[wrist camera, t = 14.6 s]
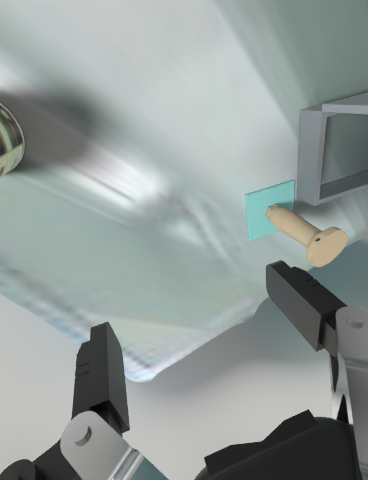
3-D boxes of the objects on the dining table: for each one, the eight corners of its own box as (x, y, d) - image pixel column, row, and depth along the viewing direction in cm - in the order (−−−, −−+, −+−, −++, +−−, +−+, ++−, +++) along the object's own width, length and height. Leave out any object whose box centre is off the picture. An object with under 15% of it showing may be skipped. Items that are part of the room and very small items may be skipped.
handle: (253, 217, 50) (305, 258, 38) (276, 191, 49) (338, 224, 36) (267, 229, 53) (320, 271, 40) (289, 205, 51) (352, 240, 39)
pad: (245, 194, 48) (246, 195, 48) (292, 179, 50) (294, 180, 49) (248, 239, 53) (249, 240, 53) (291, 224, 55) (293, 226, 54)
